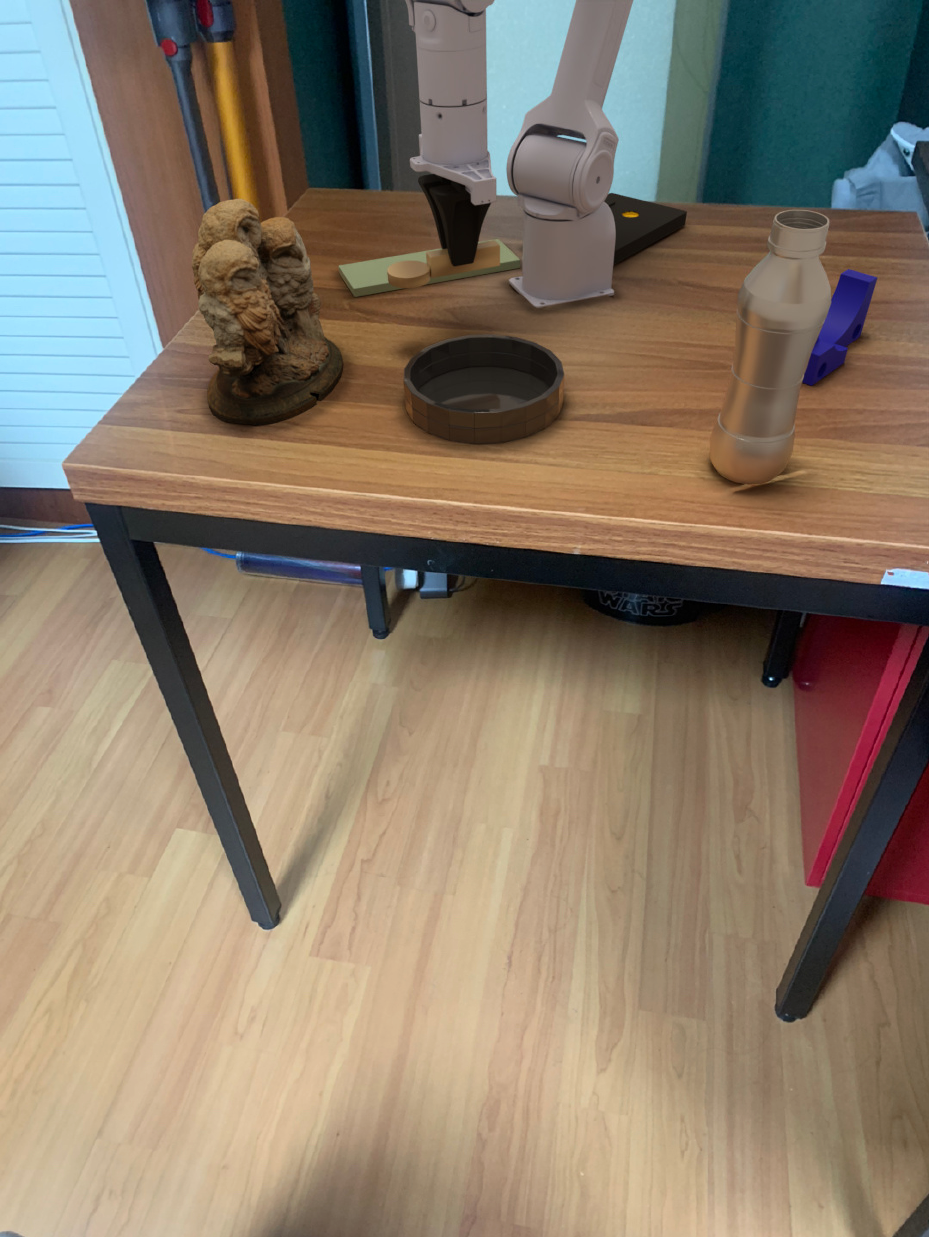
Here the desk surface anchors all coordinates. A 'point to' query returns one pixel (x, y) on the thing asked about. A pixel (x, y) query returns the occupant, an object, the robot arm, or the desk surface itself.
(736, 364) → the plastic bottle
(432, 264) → the wooden paddle
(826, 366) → the blue curved bracket
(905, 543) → the desk surface
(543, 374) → the pan
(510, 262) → the board
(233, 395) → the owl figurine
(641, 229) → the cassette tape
